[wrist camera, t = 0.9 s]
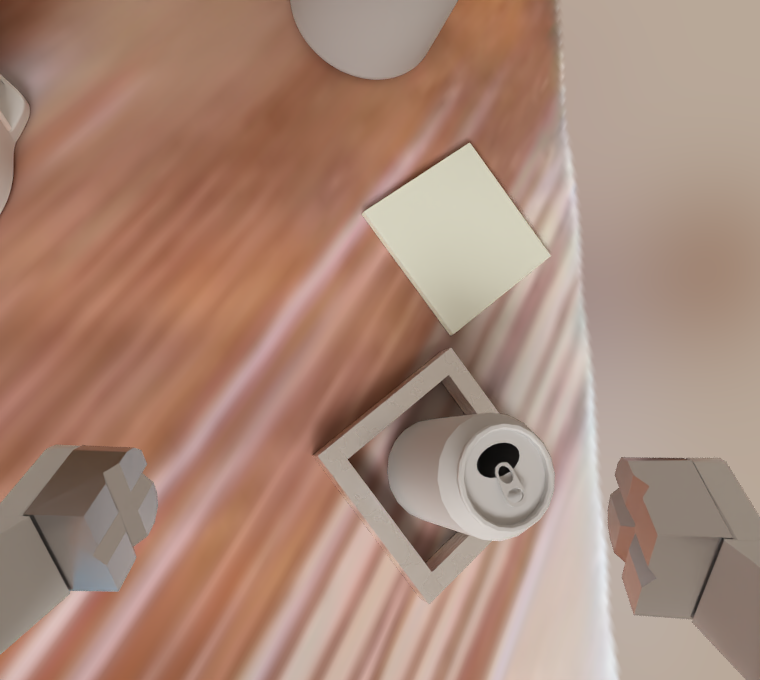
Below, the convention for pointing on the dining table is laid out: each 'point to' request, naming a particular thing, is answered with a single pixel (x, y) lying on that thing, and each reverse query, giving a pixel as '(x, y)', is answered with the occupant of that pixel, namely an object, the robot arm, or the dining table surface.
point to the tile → (457, 237)
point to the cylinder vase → (371, 33)
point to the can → (473, 474)
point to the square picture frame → (334, 463)
